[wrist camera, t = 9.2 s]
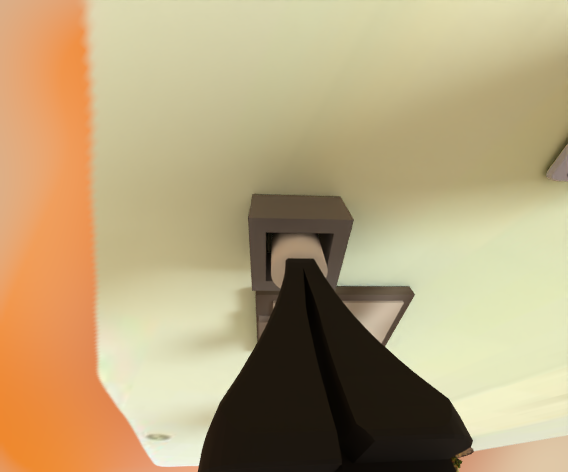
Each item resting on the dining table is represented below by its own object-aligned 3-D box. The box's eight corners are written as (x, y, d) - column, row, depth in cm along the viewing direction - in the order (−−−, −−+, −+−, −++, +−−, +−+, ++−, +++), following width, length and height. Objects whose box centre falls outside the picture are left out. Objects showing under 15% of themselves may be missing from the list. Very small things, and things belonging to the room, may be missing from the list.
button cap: (320, 217, 13) (332, 252, 10) (314, 254, 14) (323, 292, 12) (271, 216, 13) (271, 251, 10) (271, 253, 14) (270, 292, 12)
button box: (340, 196, 13) (353, 219, 10) (326, 262, 15) (335, 290, 13) (252, 194, 12) (248, 217, 10) (255, 261, 15) (252, 290, 13)
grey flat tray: (409, 286, 17) (419, 301, 16) (376, 347, 22) (382, 361, 21) (256, 286, 17) (254, 301, 15) (258, 348, 22) (257, 363, 21)
